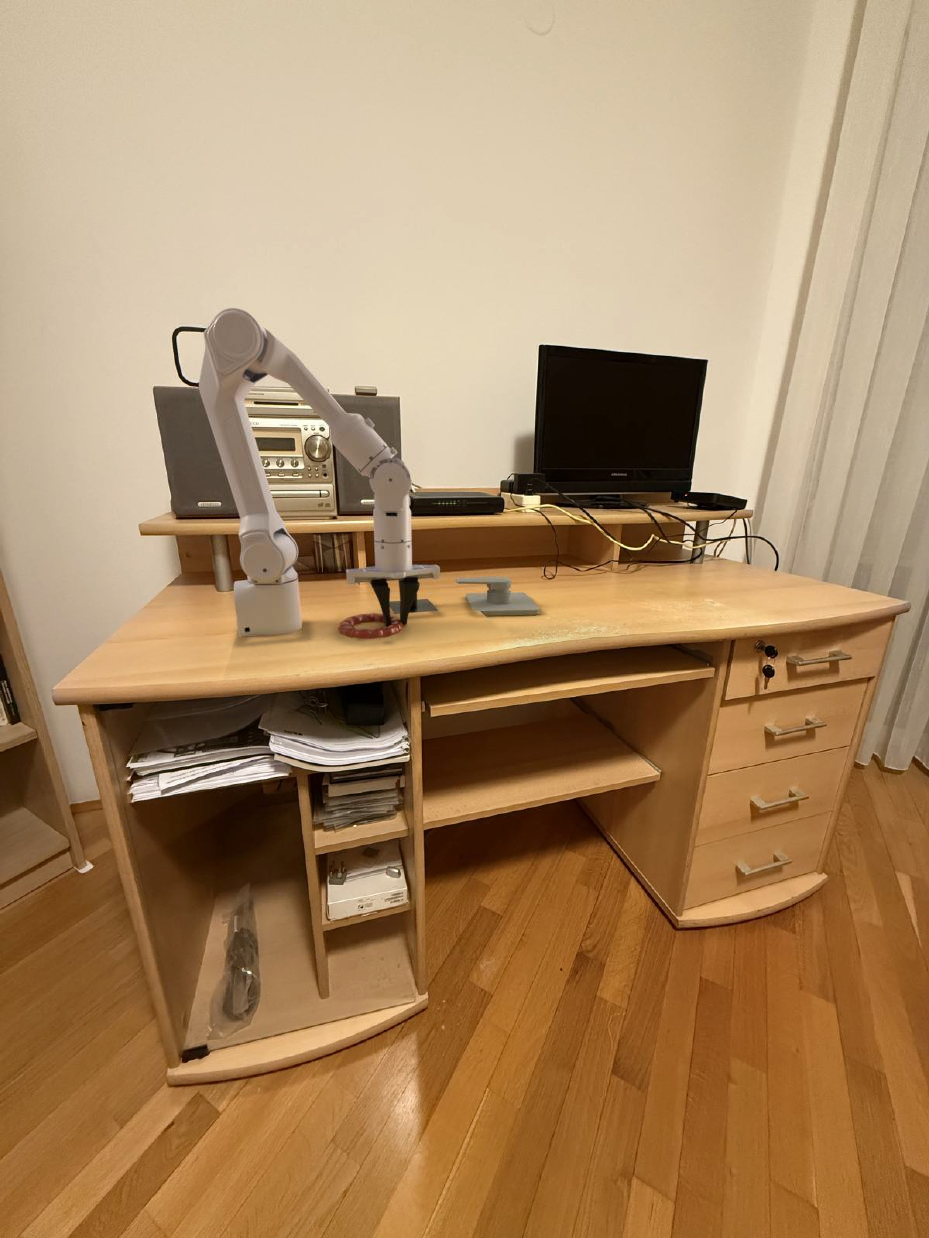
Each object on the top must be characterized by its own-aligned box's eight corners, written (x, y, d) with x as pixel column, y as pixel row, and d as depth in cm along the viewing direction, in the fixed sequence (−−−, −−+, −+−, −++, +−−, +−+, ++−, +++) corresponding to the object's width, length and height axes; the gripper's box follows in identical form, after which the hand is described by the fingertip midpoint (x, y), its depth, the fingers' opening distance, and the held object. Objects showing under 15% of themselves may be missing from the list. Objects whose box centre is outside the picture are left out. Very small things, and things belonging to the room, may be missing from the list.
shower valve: (452, 571, 98) (525, 570, 100) (452, 597, 99) (524, 596, 101) (459, 587, 86) (542, 585, 88) (459, 616, 88) (540, 614, 90)
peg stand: (394, 619, 86) (393, 590, 84) (386, 606, 93) (385, 579, 91) (438, 615, 88) (438, 587, 87) (427, 603, 95) (427, 577, 94)
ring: (342, 646, 73) (341, 634, 72) (336, 625, 82) (336, 614, 81) (408, 640, 76) (408, 628, 75) (396, 620, 85) (395, 609, 84)
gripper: (347, 546, 70) (352, 636, 74) (445, 542, 74) (445, 627, 78) (342, 538, 76) (348, 621, 80) (433, 535, 80) (433, 614, 85)
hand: (395, 623), depth 80 cm, fingers closed on ring, 2 cm apart
